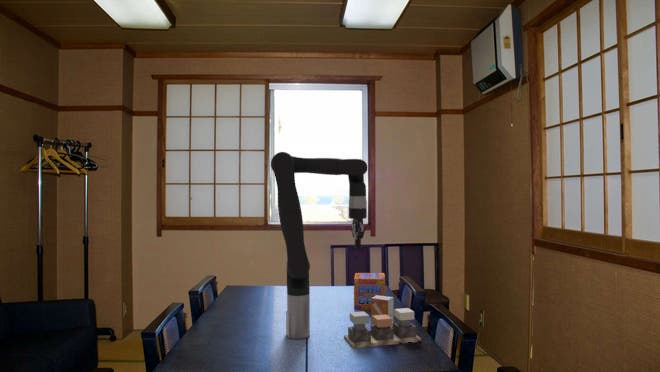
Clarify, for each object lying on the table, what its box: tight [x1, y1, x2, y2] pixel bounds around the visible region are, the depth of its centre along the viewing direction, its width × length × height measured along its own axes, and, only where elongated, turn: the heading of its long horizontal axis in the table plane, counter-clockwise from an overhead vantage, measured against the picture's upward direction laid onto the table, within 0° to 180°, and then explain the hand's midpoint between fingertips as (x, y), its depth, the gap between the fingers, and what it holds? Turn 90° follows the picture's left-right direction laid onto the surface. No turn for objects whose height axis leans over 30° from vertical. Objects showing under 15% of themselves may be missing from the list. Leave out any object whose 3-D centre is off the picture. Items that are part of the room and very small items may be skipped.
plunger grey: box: [349, 310, 370, 331], centre depth 181 cm, size 6×6×7 cm
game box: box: [353, 272, 386, 311], centre depth 235 cm, size 16×16×16 cm
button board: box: [343, 322, 422, 349], centre depth 183 cm, size 28×12×5 cm, turn 105°
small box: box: [370, 295, 395, 327], centre depth 199 cm, size 8×6×13 cm
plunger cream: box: [393, 307, 415, 327], centre depth 186 cm, size 6×6×7 cm
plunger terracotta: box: [372, 315, 392, 329], centre depth 183 cm, size 6×6×7 cm
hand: (357, 248), depth 193 cm, fingers closed
